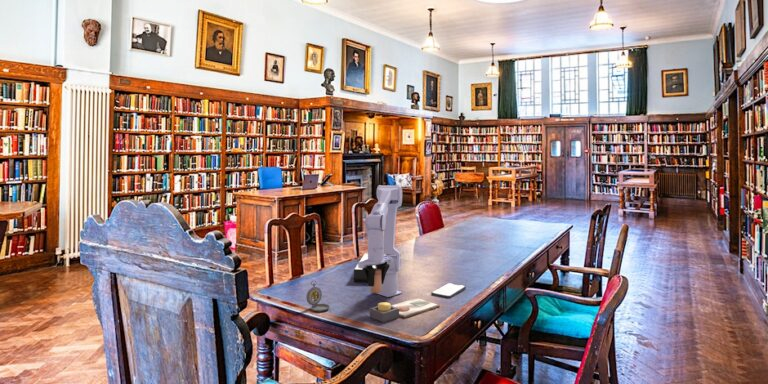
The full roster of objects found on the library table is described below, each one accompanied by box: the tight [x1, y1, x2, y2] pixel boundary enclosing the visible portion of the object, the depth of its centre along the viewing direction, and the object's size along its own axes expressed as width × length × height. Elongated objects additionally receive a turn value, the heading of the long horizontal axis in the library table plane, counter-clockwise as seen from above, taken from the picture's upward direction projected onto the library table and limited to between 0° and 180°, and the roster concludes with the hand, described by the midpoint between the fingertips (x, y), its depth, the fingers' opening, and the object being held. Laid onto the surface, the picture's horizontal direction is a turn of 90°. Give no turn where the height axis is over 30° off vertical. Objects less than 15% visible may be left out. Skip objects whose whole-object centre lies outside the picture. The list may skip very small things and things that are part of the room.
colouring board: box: [391, 297, 440, 319], centre depth 164 cm, size 12×18×1 cm, turn 131°
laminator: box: [353, 252, 387, 283], centre depth 215 cm, size 34×12×6 cm, turn 174°
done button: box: [377, 301, 391, 312], centre depth 155 cm, size 4×4×3 cm
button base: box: [369, 305, 400, 323], centre depth 155 cm, size 7×7×3 cm
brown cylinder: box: [370, 268, 382, 294], centre depth 162 cm, size 4×4×8 cm
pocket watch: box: [305, 280, 330, 312], centre depth 164 cm, size 8×8×10 cm
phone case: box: [430, 282, 467, 299], centre depth 184 cm, size 9×2×16 cm
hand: (376, 284), depth 162 cm, fingers closed on brown cylinder, 4 cm apart
